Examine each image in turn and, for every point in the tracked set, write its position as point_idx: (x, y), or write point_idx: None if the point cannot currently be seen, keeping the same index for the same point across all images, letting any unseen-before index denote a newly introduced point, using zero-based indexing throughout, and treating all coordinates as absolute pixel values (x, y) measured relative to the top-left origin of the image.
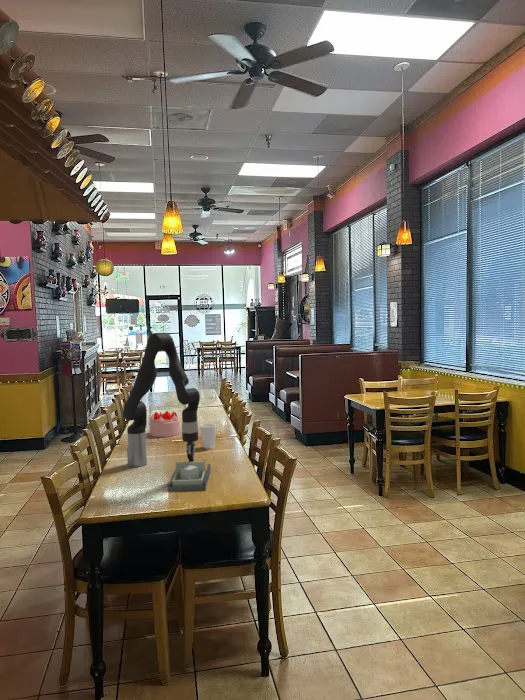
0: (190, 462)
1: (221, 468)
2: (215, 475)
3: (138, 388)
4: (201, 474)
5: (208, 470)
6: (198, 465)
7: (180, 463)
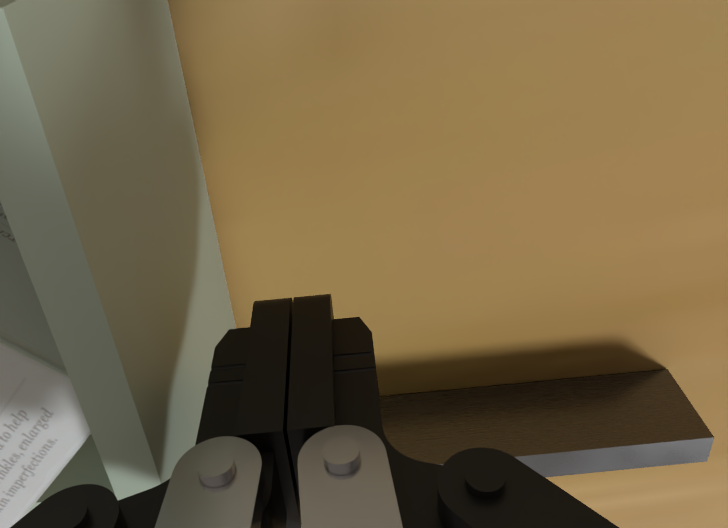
0: (108, 455)
1: (688, 491)
2: None
3: None
4: None
5: None
6: None
7: (18, 184)
